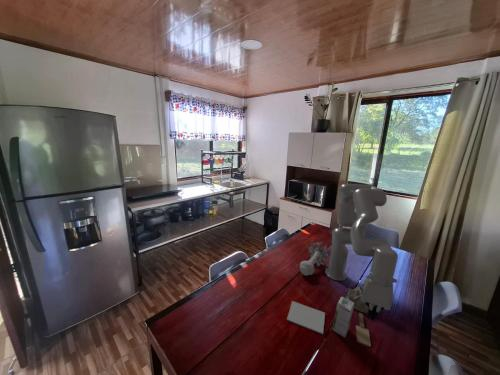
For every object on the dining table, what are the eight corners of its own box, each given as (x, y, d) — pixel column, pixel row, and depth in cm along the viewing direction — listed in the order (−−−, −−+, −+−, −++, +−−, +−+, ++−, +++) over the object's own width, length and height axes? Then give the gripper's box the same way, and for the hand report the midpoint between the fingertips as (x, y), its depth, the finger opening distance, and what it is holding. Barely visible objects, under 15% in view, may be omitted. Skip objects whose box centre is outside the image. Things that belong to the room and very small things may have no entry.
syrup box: (335, 321, 95) (340, 295, 91) (349, 329, 91) (354, 302, 88) (331, 330, 90) (336, 302, 87) (345, 338, 87) (351, 310, 83)
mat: (292, 302, 105) (292, 301, 105) (324, 313, 99) (325, 312, 99) (286, 320, 94) (286, 319, 94) (322, 334, 88) (323, 333, 88)
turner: (354, 313, 100) (355, 311, 100) (366, 317, 98) (366, 315, 98) (357, 342, 86) (357, 339, 85) (370, 347, 84) (371, 345, 84)
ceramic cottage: (378, 297, 111) (382, 273, 108) (379, 320, 98) (383, 293, 94) (347, 287, 119) (349, 265, 115) (344, 307, 105) (346, 282, 102)
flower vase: (310, 287, 126) (327, 262, 142) (316, 268, 116) (333, 243, 132) (292, 274, 133) (310, 252, 149) (296, 255, 123) (315, 234, 139)
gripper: (400, 278, 80) (390, 317, 84) (358, 267, 86) (351, 304, 90) (406, 290, 74) (395, 331, 78) (359, 277, 79) (352, 316, 83)
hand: (371, 316), depth 84 cm, fingers closed
